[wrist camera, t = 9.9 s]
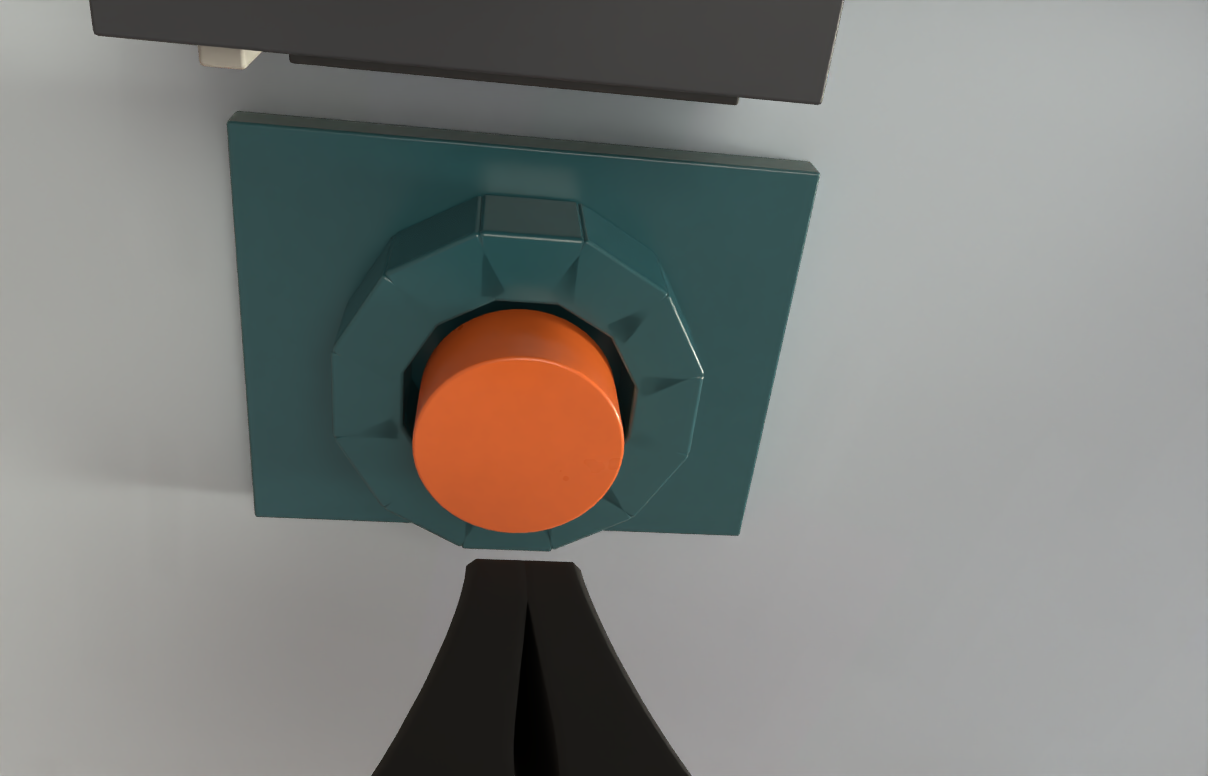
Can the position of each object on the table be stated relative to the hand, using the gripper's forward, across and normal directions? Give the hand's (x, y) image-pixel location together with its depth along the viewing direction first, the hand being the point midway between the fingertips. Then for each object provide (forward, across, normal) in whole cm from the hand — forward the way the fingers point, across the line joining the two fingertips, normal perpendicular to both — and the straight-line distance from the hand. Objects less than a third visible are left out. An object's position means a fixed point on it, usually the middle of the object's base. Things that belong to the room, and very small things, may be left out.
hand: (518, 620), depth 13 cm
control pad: (+8, 0, 0) cm, 8 cm away
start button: (+6, 0, 0) cm, 6 cm away
